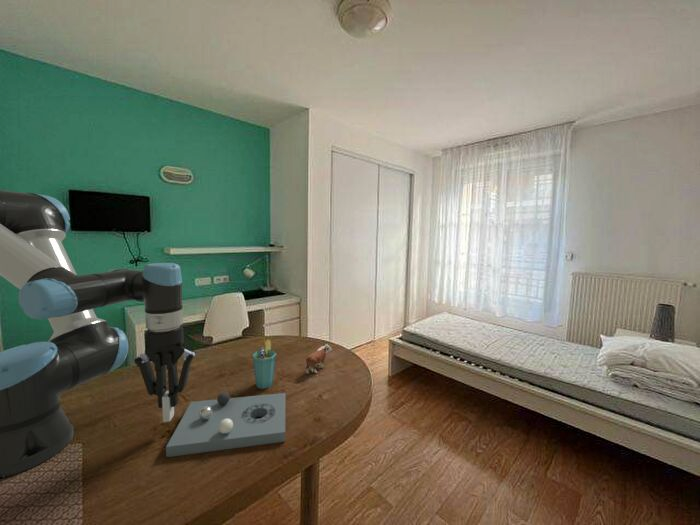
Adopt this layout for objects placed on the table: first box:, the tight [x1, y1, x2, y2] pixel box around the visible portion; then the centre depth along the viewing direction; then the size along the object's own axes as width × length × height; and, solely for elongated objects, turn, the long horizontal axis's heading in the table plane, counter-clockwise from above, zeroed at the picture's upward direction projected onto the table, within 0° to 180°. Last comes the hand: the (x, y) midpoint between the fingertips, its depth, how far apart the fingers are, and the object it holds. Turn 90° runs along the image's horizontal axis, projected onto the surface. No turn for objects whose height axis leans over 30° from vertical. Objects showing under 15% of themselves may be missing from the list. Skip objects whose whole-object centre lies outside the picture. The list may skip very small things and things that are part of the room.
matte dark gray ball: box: [216, 391, 231, 405], centre depth 78 cm, size 3×3×3 cm
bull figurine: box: [305, 343, 333, 375], centre depth 105 cm, size 4×13×8 cm, turn 148°
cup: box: [251, 339, 277, 390], centre depth 91 cm, size 14×8×15 cm, turn 11°
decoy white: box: [219, 418, 233, 434], centre depth 67 cm, size 3×3×3 cm
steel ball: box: [199, 406, 213, 420], centre depth 71 cm, size 3×3×3 cm
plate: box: [165, 392, 286, 458], centre depth 73 cm, size 26×17×2 cm, turn 103°
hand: (168, 418), depth 70 cm, fingers closed
